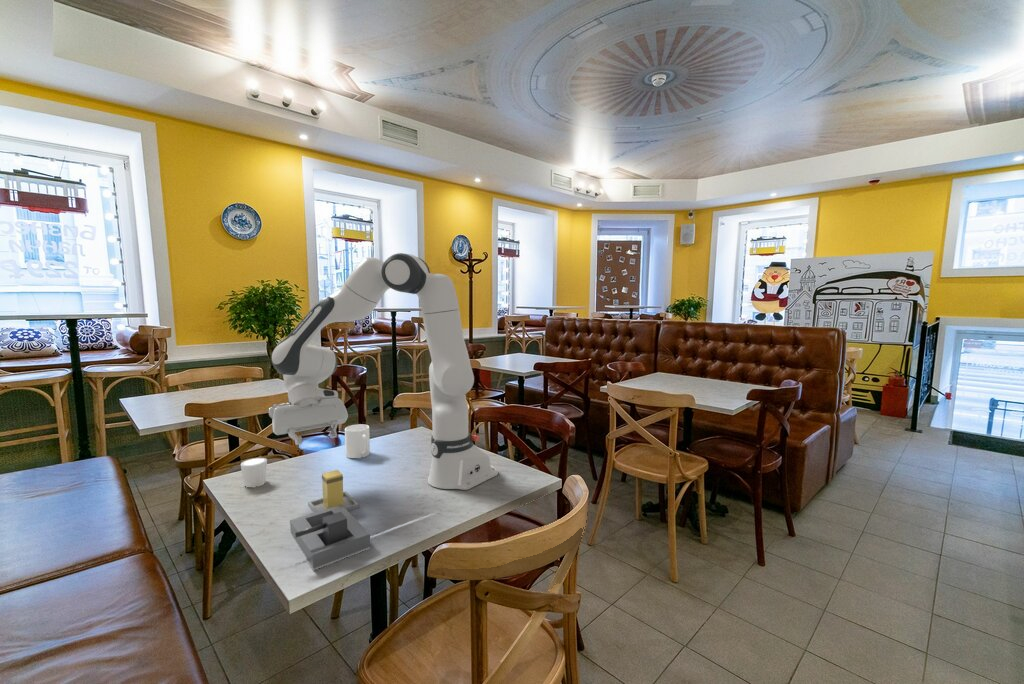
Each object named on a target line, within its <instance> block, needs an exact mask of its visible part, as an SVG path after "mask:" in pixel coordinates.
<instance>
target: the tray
mask: <svg viewBox="0 0 1024 684" xmlns="http://www.w3.org/2000/svg"><path fill="white" fill-rule="evenodd" d="M343 502H344V508H345V509H346V510H347V511H348V512H350V511H353V510H357V509H359V508H360V504H359V503H358V502H357V500H355V498H354V497H352V496H351V495H350V494H349V493H348V492H347V491H346V490H344V491H343ZM307 506H308V507H309V509H310V510H311V511H312V512H313V513H315V512H319V511H322V510H325V509H326V508H325V507H324V506H323V497H321V498H318V499H314V500H310V501H308V502H307Z"/></svg>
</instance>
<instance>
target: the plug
mask: <svg viewBox="0 0 1024 684" xmlns="http://www.w3.org/2000/svg"><path fill="white" fill-rule="evenodd" d="M321 481H322V498H323V506H324V507H325V508H326V509H328V508H332V507H335V506H338V505H343V507H344V502H343V492H344V474H343V473H342V472H340V471H339V470H338V469H336V470H330V471H327V472H322V473H321Z"/></svg>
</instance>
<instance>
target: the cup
mask: <svg viewBox="0 0 1024 684" xmlns="http://www.w3.org/2000/svg"><path fill="white" fill-rule="evenodd" d="M370 439H371V438H370V426H369V425H368V424H363V423H362V424H361V423H359V424H352V425H348V426H346V427H345V428H344V447H345V449H344V451H345V452H344V453H345V457H346V456H347V457H348V459H350V458H359V459H362V458H361V457H363V458H365V456H366V457H368V456H369V455H370V451H371V450H370V447H371V445H370V443H371V442H370V441H371V440H370ZM367 455H368V456H367ZM347 457H346V458H347Z"/></svg>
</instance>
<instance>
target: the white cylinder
mask: <svg viewBox="0 0 1024 684" xmlns="http://www.w3.org/2000/svg"><path fill="white" fill-rule="evenodd" d="M267 464H268V459H267V458H266V457H252V458H249V459H246V460H243V461H242V462H241V463H240V471H241V475H242V480H243V481H242V482H243V486H244V487H245V486H246V487H245V488H247V487H253V488H257V487H256V486H258V487H261V486H263V485H265V484H266V482H267V470H268V469H267V467H268V465H267ZM264 483H265V484H264ZM260 485H261V486H260Z"/></svg>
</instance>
